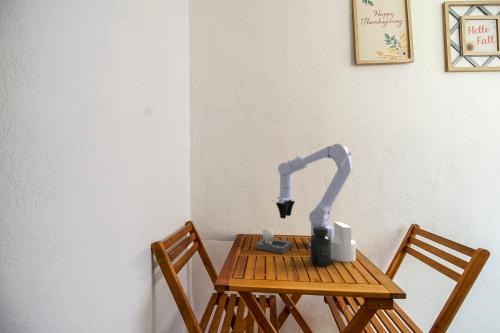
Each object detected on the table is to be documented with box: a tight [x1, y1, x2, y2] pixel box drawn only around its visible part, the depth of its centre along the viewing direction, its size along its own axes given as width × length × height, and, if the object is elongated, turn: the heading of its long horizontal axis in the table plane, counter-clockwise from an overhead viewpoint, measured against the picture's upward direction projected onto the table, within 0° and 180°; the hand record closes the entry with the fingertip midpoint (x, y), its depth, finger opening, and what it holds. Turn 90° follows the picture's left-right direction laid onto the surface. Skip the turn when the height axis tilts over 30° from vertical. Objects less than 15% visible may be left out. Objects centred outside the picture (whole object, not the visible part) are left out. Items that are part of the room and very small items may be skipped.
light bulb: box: [262, 228, 275, 245], centre depth 94 cm, size 4×4×7 cm
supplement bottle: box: [309, 227, 332, 268], centre depth 77 cm, size 7×7×12 cm
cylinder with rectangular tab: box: [331, 221, 357, 263], centre depth 83 cm, size 9×9×12 cm
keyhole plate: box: [254, 238, 292, 255], centre depth 92 cm, size 12×10×2 cm
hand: (285, 217), depth 106 cm, fingers open, 7 cm apart
